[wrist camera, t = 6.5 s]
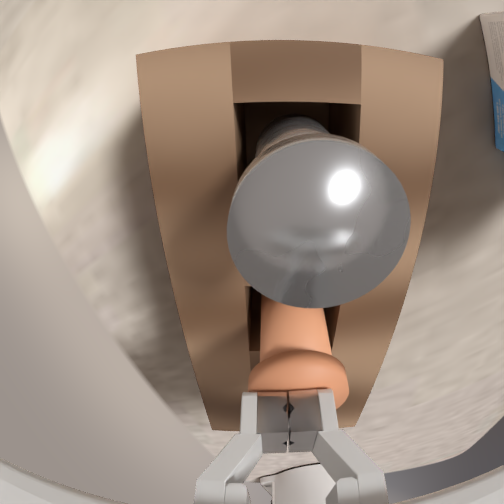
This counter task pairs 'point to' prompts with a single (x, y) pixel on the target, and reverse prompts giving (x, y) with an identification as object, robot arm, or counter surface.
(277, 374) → the terracotta plug
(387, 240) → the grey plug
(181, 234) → the block
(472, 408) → the counter surface
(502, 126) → the ink box
